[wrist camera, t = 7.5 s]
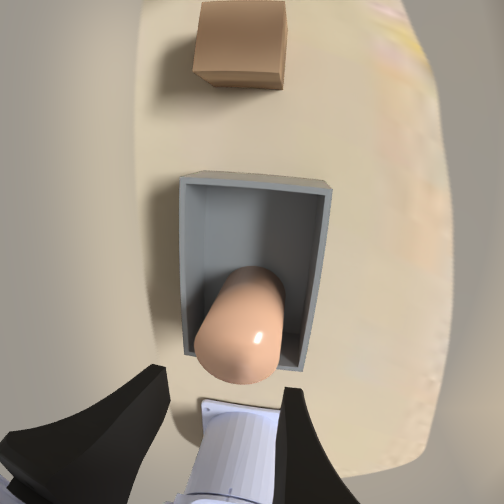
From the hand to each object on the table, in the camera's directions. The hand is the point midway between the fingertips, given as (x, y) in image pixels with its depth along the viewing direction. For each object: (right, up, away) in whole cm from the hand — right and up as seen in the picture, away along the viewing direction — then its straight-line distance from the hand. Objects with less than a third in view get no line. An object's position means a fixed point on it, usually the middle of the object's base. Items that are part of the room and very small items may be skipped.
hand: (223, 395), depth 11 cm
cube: (+1, +17, +4) cm, 17 cm away
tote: (+1, +5, +8) cm, 10 cm away
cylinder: (+1, +3, +8) cm, 9 cm away
